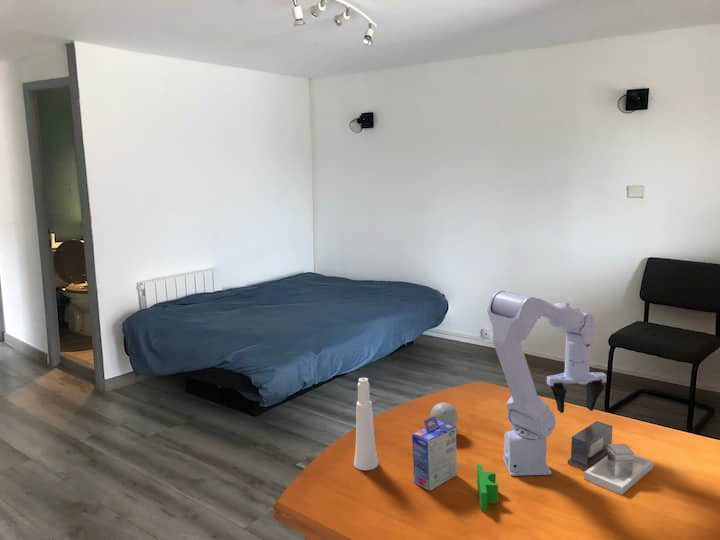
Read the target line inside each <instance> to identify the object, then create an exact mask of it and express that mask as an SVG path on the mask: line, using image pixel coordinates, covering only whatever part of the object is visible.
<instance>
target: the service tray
mask: <svg viewBox="0 0 720 540" xmlns="http://www.w3.org/2000/svg"><path fill="white" fill-rule="evenodd" d="M607 458H608V455H607V456H606V457H604V458H603V459H601V460H600V461H599V462H597V463H596V464H595V465H593V466H592V467H591V468H589V469H588V470H586V471H584V473H583V474H584V475H583V476H584V477H583V480H586V481H587V482H590V483H592V484H594V485H597V486H599V487H602V488H604V489H607V490H609V491H611V492H613V493H616V494H619V495H621V496H623V495H624V494H626V492H627V491H629V490H630V489H631V488H632V487H633V486H634V485H636V484H637V483H638V482H639V481H640V480H641V479H642V478H644V477H645V476H646V475H647V474H648V473H650V472H651V471H652V470H653V469H654V461H653V460H651V459H648V458H646V457H643V456H640V455H637V454H635V453H634V459H633V472H632V475H631V476H630V477H614V476H613V475H612V474H611V472H610V471H609V470H608V469H607Z"/></svg>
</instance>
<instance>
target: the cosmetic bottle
mask: <svg viewBox="0 0 720 540" xmlns="http://www.w3.org/2000/svg"><path fill="white" fill-rule="evenodd" d="M370 398H371V396H370V383H369V379H368V378H367V377H360V378H358V383H357V402H356V408H355V409H356V411H355V412H356V413H355V414H356V416H355V418H356V419H355V420H356V421H355V423H356V425H355V426H356V427H355V428H356V429H355V451H354V452H355V453H354V459H353V460H354V461H353V466H354V467H355V468H356V469H358V470H359V471H371V470H375V469H376V468H377V467H379V458H378V455H377V448H376V447H377V446H376V439H375V437H376V436H375V426H374V416H373V415H374V413H373V405H372V404H373V403H372V401H371V400H370Z"/></svg>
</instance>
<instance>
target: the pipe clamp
mask: <svg viewBox="0 0 720 540" xmlns="http://www.w3.org/2000/svg"><path fill="white" fill-rule="evenodd" d="M483 469H484V468H483V464H476V484H477V485H476V486H477V492H478V499H479V504H480V505H479V506H480V511H481V512H484V513H485V512H486V513H487V512H488V510H487V508H488V504H496V505H497V504H499V503H498V502H499V485H498V484H499V483H496V478H497V477H496V476H497V475H496V474H497V473H496V472H495V471H484V470H483Z"/></svg>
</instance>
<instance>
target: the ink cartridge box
mask: <svg viewBox="0 0 720 540" xmlns="http://www.w3.org/2000/svg"><path fill="white" fill-rule="evenodd" d="M431 421H435V423H431V424H430V425H429V423H430V422H431ZM423 422H424V425H425V426H424V427H423V428H422V429H419V430H418V431H415V432H413V433H412V434H411V438H412V439H411V440H412V443H411V444H412V459H413V460H412V463H413V480H414V481H413V482H414V484H417V485H418V486H420V487H421V488H423V489H425V490H426V491H429V492H430V491H432V490H434V489H435V488H437V487H439V486H440V485H442V484H444V483H445V482H447V481H449V480H451V479H452V478H454V477H456V476H458V468H457V467H458V465H457V462H458V460H457V456H458V455H457V434H456V427H455V426H453V425H450V424H448V423H446V422H443V421H440V420H439V421H437V420H436V418H435V416H433V417H431V418H430V417H429V418H427V419H424V420H423Z"/></svg>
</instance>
